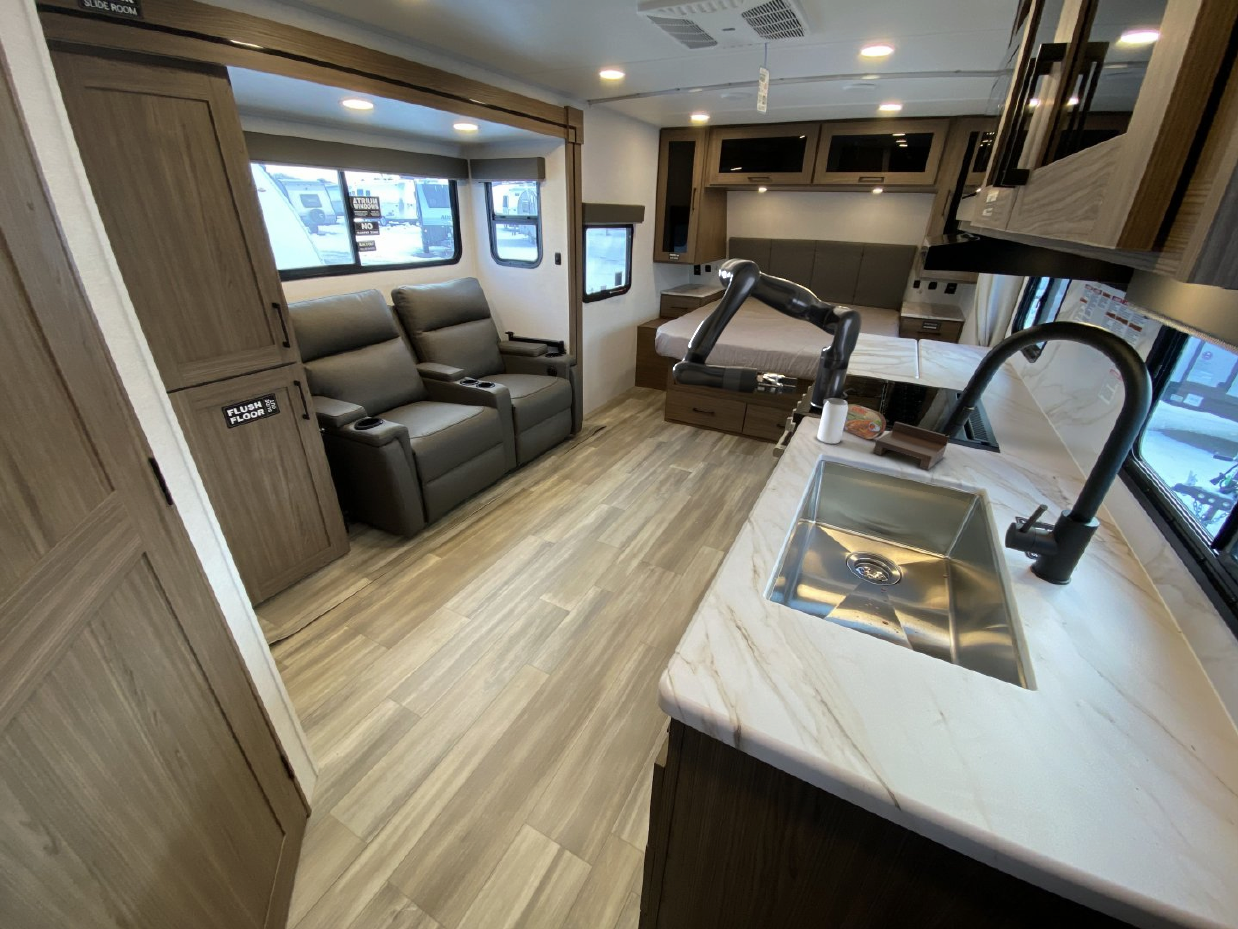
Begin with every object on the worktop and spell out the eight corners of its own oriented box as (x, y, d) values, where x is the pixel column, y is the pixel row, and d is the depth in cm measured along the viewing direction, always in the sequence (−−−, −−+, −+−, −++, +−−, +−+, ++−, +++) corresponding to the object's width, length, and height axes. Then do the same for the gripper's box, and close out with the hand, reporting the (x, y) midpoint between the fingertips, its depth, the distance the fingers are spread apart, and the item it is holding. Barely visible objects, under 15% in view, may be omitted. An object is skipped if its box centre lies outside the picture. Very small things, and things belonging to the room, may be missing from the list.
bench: (890, 442, 145) (895, 421, 142) (942, 457, 136) (950, 436, 133) (872, 453, 138) (878, 431, 135) (927, 470, 128) (934, 447, 126)
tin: (834, 426, 155) (840, 400, 152) (841, 424, 157) (847, 399, 153) (876, 443, 144) (883, 416, 140) (883, 442, 145) (891, 415, 141)
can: (836, 436, 148) (845, 398, 143) (843, 445, 142) (852, 405, 137) (814, 435, 149) (822, 397, 143) (820, 443, 143) (828, 404, 137)
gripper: (738, 373, 139) (798, 380, 134) (744, 361, 151) (799, 367, 146) (734, 398, 142) (793, 406, 138) (740, 385, 154) (794, 391, 150)
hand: (796, 386), depth 142 cm, fingers open, 8 cm apart
